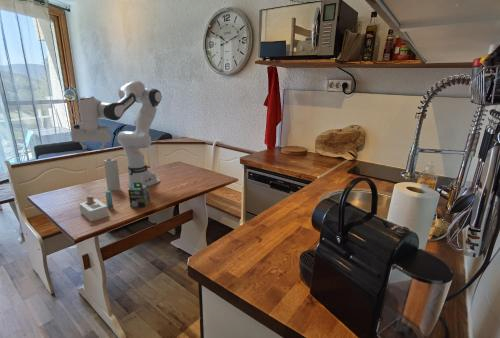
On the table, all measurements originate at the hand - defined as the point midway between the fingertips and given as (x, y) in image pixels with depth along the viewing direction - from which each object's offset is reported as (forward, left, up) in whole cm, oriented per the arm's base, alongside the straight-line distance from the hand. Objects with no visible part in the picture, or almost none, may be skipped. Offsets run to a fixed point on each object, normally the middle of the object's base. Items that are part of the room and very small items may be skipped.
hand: (93, 149), depth 155 cm
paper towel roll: (-14, -14, -34) cm, 39 cm away
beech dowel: (+10, +11, -34) cm, 37 cm away
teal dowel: (0, +12, -34) cm, 35 cm away
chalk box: (-14, +21, -34) cm, 42 cm away
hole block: (+10, +15, -34) cm, 38 cm away
